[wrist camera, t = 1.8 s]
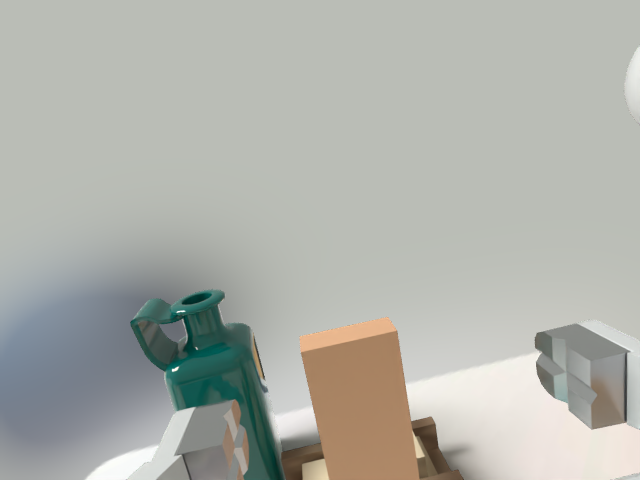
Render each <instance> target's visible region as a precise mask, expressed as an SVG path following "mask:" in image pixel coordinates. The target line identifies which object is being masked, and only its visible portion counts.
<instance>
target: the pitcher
mask: <svg viewBox="0 0 640 480" xmlns="http://www.w3.org/2000/svg"><path fill="white" fill-rule="evenodd" d="M224 298H225V293H224V292H223V291H221V290H214V289H211V290H204V291H199V292H195V293H193V294H190V295H187V296H185V297H183V298H181V299H179V300H178V301H176V302H175V303H173V304H172V305H170V304H168V303H166V302H165V301H163V300H161V299H151V300H148V301H147V302H146V303H145V305H144V306H143V307H142V308H141V310H140V311H139V312H138V313H137V315H136V316H135V317H134V318H133V320H132V321H131V322H130V323H131V327H132V329H133V331H134V333H135V335H136V337H137V339H138V342H139V343H140V346H141V348H142V349H143V351H144V353H145V355H146V356H147V357H148V359H149V360H150V361H151V362H152V363H153V364H154V365H156V366H157V367H158V368H160V369H161V370H163V371H165V375H164V379H165V384H166V387H167V390H168V393H169V396H170V399H171V402H172V405H173V408H174V411H175V413H176V412H177V411H180V410H184V409H188V408H193V407H198V406H203V405H208V404H213V403H218V402H223V401H228V400H233V399H235V400H236V401H237V402H238V404H239V408H240V411H241V417H240V422H239V424H240V425H242V426H243V427H244V428H245V430H246V434H247V438H248V445H249V464H248V470H247V471H246V473H245V474H244V475H243V478H244V480H286V478H285V474H284V470H283V466H282V462H281V452H282V444H281V440H280V436H279V432H278V428H277V424H276V420H275V416H274V412H273V408H272V404H271V400H270V396H269V392H268V389H267V384H266V380H265V376H264V372H263V368H262V365H261V361H260V357H259V353H258V349H257V345H256V341H255V337H254V333H253V331H252V330H251V328H250V327H249V326H247V325H246V324H244V323H228V324H224V322H223V319H222V316H221V312H220V308H219V303H220V302H222V301H223V299H224ZM181 319H182V320H183V323H184V326H185V330H186V334H187V336H185V337H184V338H182V339H181V340H180V341H179V342H178V343H176V342H173V341H171V340H170V339H169V338H168V337H167V336H166V335H165V334H164V333H163V331H162V330H161V328H160V326H159V324H167V323H173V322H176V321H179V320H181Z"/></svg>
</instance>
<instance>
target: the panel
mask: <svg viewBox="0 0 640 480" xmlns="http://www.w3.org/2000/svg"><path fill="white" fill-rule="evenodd" d="M300 347H301V355H302V359H303V364H304V369H305V373H306V378H307V382H308V386H309V391H310V396H311V400H312V405H313V409H314V414H315V418H316V423H317V427H318V432H319V436H320V441H321V445H322V450H323V454H324V459H325V463H326V468H327V472H328V477H329V480H420V478H419V471H418V464H417V458H416V451H415V445H414V438H413V432H412V425H411V419H410V412H409V405H408V399H407V392H406V386H405V379H404V373H403V366H402V359H401V353H400V347H399V340H398V333H397V330H396V328H395V327H394V325H393V324H392V322H391V321H390V320H389V318H388V317H386V318H381V319H377V320H372V321H368V322H363V323H358V324H354V325H349V326H345V327H340V328H336V329H331V330H327V331H322V332H318V333H313V334H309V335H304V336H300Z"/></svg>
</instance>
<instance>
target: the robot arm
mask: <svg viewBox="0 0 640 480" xmlns="http://www.w3.org/2000/svg"><path fill="white" fill-rule="evenodd" d="M624 91H625V100H626V104H627V106H628V109H629V111H630V113H631V115H632V117H633V118H634V119H635V121H636V122H637V123H638V124H639V125H640V45H639V47H638V48H637V50H636V51H635V53H634V55H633V57H632V59H631V61H630V64H629V66H628V69H627V73H626V77H625V86H624ZM535 348H536V349H537V350H538V351H539V352H540V353H541V355H540V356H539V358H538V360H537V362H536V367H537V375H538V377H539V379H540V381H541V384H542V385H543V387H544V388H545V389H546V391H547V392H548V393H549V394H550V395H552V396H553V397H554V398H555V399H558V400H561V401H564V402H566V403H568V408H569V411H570V412H571V413H573V414H574V415H575V416H576V417H577V418H579V419H580V420H581V421H582V422H583V423H584V424H586V425H587V426H588V427H589V428H590V429H597V428H602V427H607V426H612V425H617V424H621V423H626V422H627V425H630V426H632V427H634V428H636V429H639V430H640V341H639V340H637V339H635V338H633V337H631V336H629V335H627V334H625V333H623V332H620V331H619V330H616V329H614V328H612V327H610V326H608V325H606V324H604V323H602V322H599V321H598V320H586V321H582V322H579V323H575V324H572V325H568V326H564V327H560V328H556V329H552V330H547V331H544V332H539V333H537V334H536V337H535ZM240 417H241V411H240V408H239V404H238V402H237V401H236V400H235V399H233V400H228V401H223V402H218V403H213V404H208V405H203V406H198V407H193V408H188V409H184V410H180V411H177V412H176V413H174V415H173V417H172V419H171V421H170V423H169V425H168V428H167V429H166V431H165V434H164V436H163V438H162V440H161V442H160V444H159V446H158V448H157V450H156V452H155V455H154V457H153V459H152V461H151V462H147V463H144V464H143V465H142V466H141V467H140V468H138V469H137V470H136V471H135V472H134V473H133V474H132V475H130V476H129V477H128V478H127V479H126V480H244V478H243V475H244V474H245V473H246V471H247V470H248V464H249V445H248V438H247V434H246V430H245V428H244V427H243V426H242V425H240V424H239V422H240ZM612 480H640V473H636V474H632V475H628V476H624V477H620V478H616V479H612Z"/></svg>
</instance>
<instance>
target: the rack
mask: <svg viewBox="0 0 640 480" xmlns="http://www.w3.org/2000/svg"><path fill="white" fill-rule="evenodd" d="M411 425H412V431H413V433H414V435H415V437H416V436H419V437H420V439H421V441H422V443H423V445H424V447H425V449H426V451H427V453H428V455H429V457H430V459H431V461H432V463H433V465H434V467H435V469H436V471H437V473H438V475H434V476H430V477H426V478H422V479H420V480H464V479H463V477H462V476H461V474H460V472H459V470H454V471H451V470H450V468H449V466H448V464H447V462H446V461H445V459H444V457H443V455H442V453H441V451H440V450H439V447H438V440H437V433H436V425H435V422H434V420H433V419H432V417H428V418H424V419H419V420H415V421H411ZM320 459H324V454H323V450H322V445H321V443H318V444H314V445H310V446H306V447H302V448H297V449H293V450H289V451H285V452H281V462H282V466H283V470H284V474H285V478H286V480H303V474H302V464H304V463H308V462H312V461H316V460H320Z"/></svg>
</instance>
